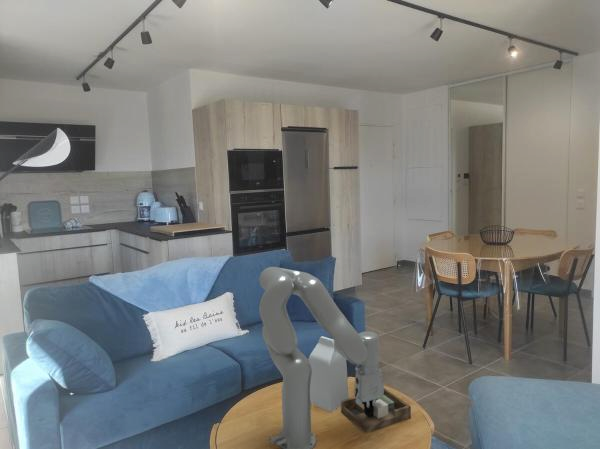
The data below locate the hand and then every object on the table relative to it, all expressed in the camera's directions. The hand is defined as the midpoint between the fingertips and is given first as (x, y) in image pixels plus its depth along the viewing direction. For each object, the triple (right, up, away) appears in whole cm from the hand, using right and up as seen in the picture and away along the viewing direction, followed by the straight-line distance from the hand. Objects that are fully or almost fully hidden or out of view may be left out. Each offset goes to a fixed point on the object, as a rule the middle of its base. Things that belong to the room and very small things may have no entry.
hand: (369, 415), depth 160 cm
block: (+4, 0, +2) cm, 5 cm away
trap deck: (+3, -2, +6) cm, 7 cm away
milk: (-14, -2, +17) cm, 22 cm away
